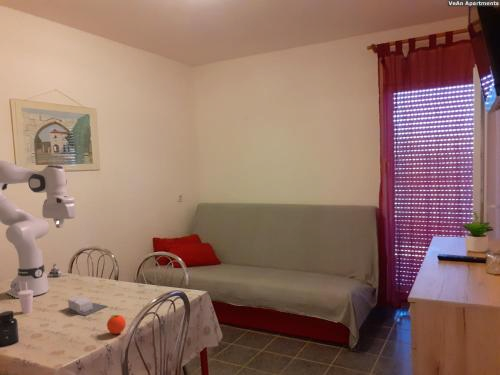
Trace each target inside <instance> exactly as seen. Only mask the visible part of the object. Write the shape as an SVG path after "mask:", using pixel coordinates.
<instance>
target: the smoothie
mask: <svg viewBox="0 0 500 375" xmlns="http://www.w3.org/2000/svg"><path fill="white" fill-rule="evenodd" d="M25 284H26V290H25V291H21V292H19V293H18V296H19V298H18V299H19V303H20V308H21V311H22V314H23V313H24V314H30V313H32V312H33V303H34V302H33V298H34V296H33V293H34V291H33V290H27V282H25Z"/></svg>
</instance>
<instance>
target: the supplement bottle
mask: <svg viewBox="0 0 500 375" xmlns="http://www.w3.org/2000/svg"><path fill="white" fill-rule="evenodd" d="M14 316H15V315H14V311H13V310H5V311H3V312H0V348H5V347H10V346H13V345H16V344H17V343H19V342H20V341H19V338H20V336H19V327H18V319H17V318H15V317H14Z"/></svg>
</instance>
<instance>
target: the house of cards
mask: <svg viewBox="0 0 500 375" xmlns="http://www.w3.org/2000/svg"><path fill="white" fill-rule="evenodd" d="M61 274H62V275H63V272H62V271H61V270H60V269H59V268H58V267H57V264H56V262H54V263H53V265H52V268H51V270H50V271H49V273H48V274H47V275H48V276H47V277H61V276H62V275H61ZM60 275H61V276H60Z"/></svg>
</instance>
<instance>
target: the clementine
mask: <svg viewBox="0 0 500 375" xmlns="http://www.w3.org/2000/svg"><path fill="white" fill-rule="evenodd" d="M126 323H127V322H126V319H125V318H124V317H123V315H120V314H112V315H111V316H110V317H109V319H108V321H107V322H106V328H107V330H108V331H109V333H111V334H114V335H115V334H121V333H122V332H123V331H124V329H125V328H126Z"/></svg>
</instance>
